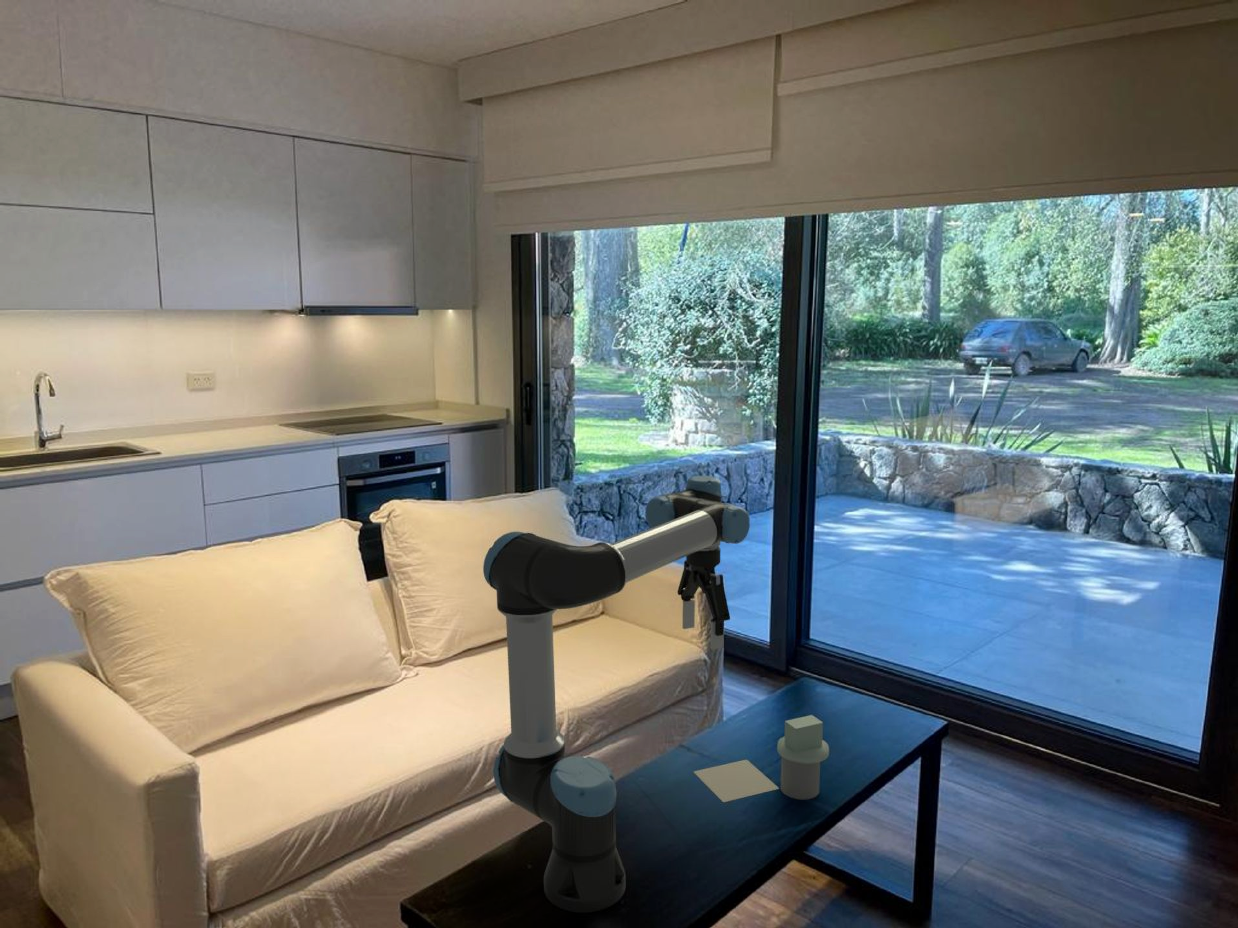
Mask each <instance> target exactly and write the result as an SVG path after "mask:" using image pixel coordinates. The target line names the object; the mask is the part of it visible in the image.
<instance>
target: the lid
mask: <svg viewBox="0 0 1238 928" xmlns="http://www.w3.org/2000/svg"><path fill="white" fill-rule="evenodd" d="M823 728H824V723H823V721H821V720H820V719H818V718H817V717H815V716H814V715H813V714H809V715H806V716H801V717H797V718H796V717H795V718H793V719H787V720H785V721H784V736H783V737H782V736H781V737H780V738H779V739H778V741H777V746H776V747H777V753H778V755H779V756H780V757H781V758H782V757H784V758H785V759H787V760H790V761H793V762H797V763H804V764H811V763H818V762H820V763H821V762H823V761H825V760H826V759H827V758H828V757H829V755H830V746H829V744H828V743H827V742H826V741H825V740H823V730H824V729H823Z"/></svg>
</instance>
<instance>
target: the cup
mask: <svg viewBox="0 0 1238 928" xmlns="http://www.w3.org/2000/svg"><path fill="white" fill-rule="evenodd" d="M780 763H781V764H780V766H781V768H780V772H781V773H780V791H781V792H782V793H783V794H784V795H785V796H787V797H790V798H791V799H795V800H811V799H815V798H816V797H817V796H818V795H819V794H820V776H821V773H820V772H821V762H818V763H811V764H804V763H797V762H793V761H790V760H787V759H785V758H784V757H782V756H781V761H780Z"/></svg>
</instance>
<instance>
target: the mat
mask: <svg viewBox="0 0 1238 928" xmlns="http://www.w3.org/2000/svg"><path fill="white" fill-rule="evenodd" d="M693 774H695V775H696V776H697V778H699V779H700V781H701V782H702V783H703V784H704V785H706V786H707V787H708V789H709V790H710V791H711V792H712V793H713V794H714V795H716V797H717V798H718V799H719V800H720V801H721V802H722V803H727V802H731V801H735V800H739V799H743V798H747V797H748V798H749V797H752V796H756V795H760V794H763V793H767V792H771V791H776V790H779V789H780V788H779V787H778V786H777V785H776V784H775V783H774V782H773V781H772V780H771V779H769V778H768V777H767V776H766V775H765V774H764V773H763V772H762V771H760V770H759V769H758V768H757V767H756V766H755V765H754V764H752V763H751V762H750V761H749V760H748V759H743V760H738V761H735V762H729V763H725V764H722V765H721V764H719V765H716V766H712V767H706V768H704V769H699V770H694V771H693Z"/></svg>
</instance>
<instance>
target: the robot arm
mask: <svg viewBox="0 0 1238 928" xmlns="http://www.w3.org/2000/svg"><path fill="white" fill-rule="evenodd" d="M722 498H723V495H722V483H721V480H720V479H719V478H717V477H716V476H709V475H693V476H691V477H689V478H687V480H686V486H685V489H683V490H680V491H676V492H670V493H666V494H665V493H664V494H663V493H662V494H660V495H659V496H656V497H652V498H651V499H649V501H648V502H647V504H646V506H645V519H646V523H647V524H648V526H649V528H648V529H646V530H643V531H641V532H637V533H635V534H633V535H630V536H628V537H625V538H622V539H620V540H618V541H616V542H613V543H609V542H605V541H601V542H600V541H599V542H597V543H594V544H592V545H586V546H584V545H583V546H581V545H572V544H568V543H567V544H566V543H563V542H559V541H557V540H552V539H549V538H545V537H542V536H538V535H536V534H535V533H532V532H523V531H510V532H507V533H505V534H503V535H501V536H499V537H498V538H497V539H496V540H495V541H494V542H493V544H492V546H490V547H489V548H488V550H487V552H486V554H485V556H484V560H483V567H482V568H483V577H484V579H485V581H486V583H487V584H488V585H489V586H490V587H491V588H492V589H494V590H495V591H496V605H497V607H496V608H497V610H498V612H499V613H501V614H502V615H503V616H505V621H506V624H505V625H506V626H505V627H506V643H507V645H506V646H507V648H506V649H507V666H508V667H507V668H508V670H507V671H508V691H509V710H510V711H509V714H510V716H509V717H510V733H509V734H508V735H507V736H506V738H505V739H504V741H503V745H502V746H501V747H500V748H499V751H498V753H499V755H498V756H496V757H495V758H494V762H493V767H492V769H493V770H492V771H493V779H494V783H495V786H496V788H497V789H498V791H499V793H501V794H502V795H503V796H504V797H505V798H506V799H507V800H508V801H510V802H511V803H514V804H515V805H516V806H518V807H521V808H522V809H524V810H525V811H528V812H529V813H530V814H532V815H534V816H536V817H537V818H539V819H540V820H542V821H544V822H545V823H547V824H548V825H550V826H551V830H552V831H551V832H552V833H551V835H552V850H551V853H550V856H549V859H548V862H547V864H546V866H545V867H546V868H545V870H544V875H543V892H544V895H545V897H546V898H547V900H548V901H549V902H550V903H551V904H553V905H554V906H555V907H558V908H559V909H561V910H564V911H567V912H573V913H583V914H584V913H594V912H598V911H602V910H604V909H607V908H610V907H613V905H614V904H616V903H617V902H619V901H620V900H621V898H622V897H623V895H624V894H625V891H626V885H627V884H626V871H625V868H624V865H623V861H622V859H621V857H620V855H619V851H618V849H617V840H616V839H617V794H618V793H617V789H616V781H615V776H614V773H613V771H612V770H611V768H610V767H609V766H608V765H607V764H606V763H604V762H603V761H601V760H599V759H597V758H593V757H591V756H586V757H584V756H582V755H570V756H567V757H566V746H565V745H566V743H565V742H566V740H565V739H566V738H565V737H564V735H563V734H562V732H560V731H559V730H557V714H556V711H557V710H556V686H555V657H554V656H555V652H554V627H553V624H554V623H553V614H555V612H556V611H557V610H567V609H568V610H569V609H574V608H577V607H578V608H579V607H583V606H587V605H590V604H594V603H597V602H599V601H602V600H604V599H607V598H609V597H611V596H614V595H616V594H618V593H620V592H621V591H623V589H624V588H625V586H626V583H629V582H632V581H634V580H636V579H638V578H641V577H643V576H644V575H647V574H649V573H652V572H653V571H657V569H660V568H663V567H665V566H667V565H669V564H672V563H674V562H676V561H679V560H681V559H683V558H686V560H684V561H683V563H684V564H683V571H682V575H681V578H680V581H679V586H678V589H677V595H678V596H680V599H681V600H682V629H683V630H686V629H687V630H688V629H694V628H695V621H696V620H695V618H696V617H695V613H696V612H695V611H696V610H695V609H696V608H695V606H696V605H695V603H696V602H695V600H694V599H695V598H696V595H695V594H696V593H697V591H698V589H699V588H700V589H701V592H702V593H703V594H705V598H706V601H707V604H708V608H709V609H710V612H711V616H712V619H710V649H711V650H719V649H724V632H725V631H724V625H725V621H730V619H731V616H730V615H731V614H730V611H729V606H728V600H727V595H726V592H725V587H724V575H723V574H722V573H720V574H716V569H715V568H716V567H717V566H718V565H720V564H721V548H720V545H721V543H722V542H723V543H725V544H735V545H737V544H740V543H742V542H744V540H745V539H746V537H747V536H748V534H749V531H750V525H751V524H750V519H751V518H750V515H749V513H748V511H747V510H746V509H744V508H743V507H740V506H738V505H737V506H736V505H735V504H732V503H726V502H725V503H724V502H722Z"/></svg>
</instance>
